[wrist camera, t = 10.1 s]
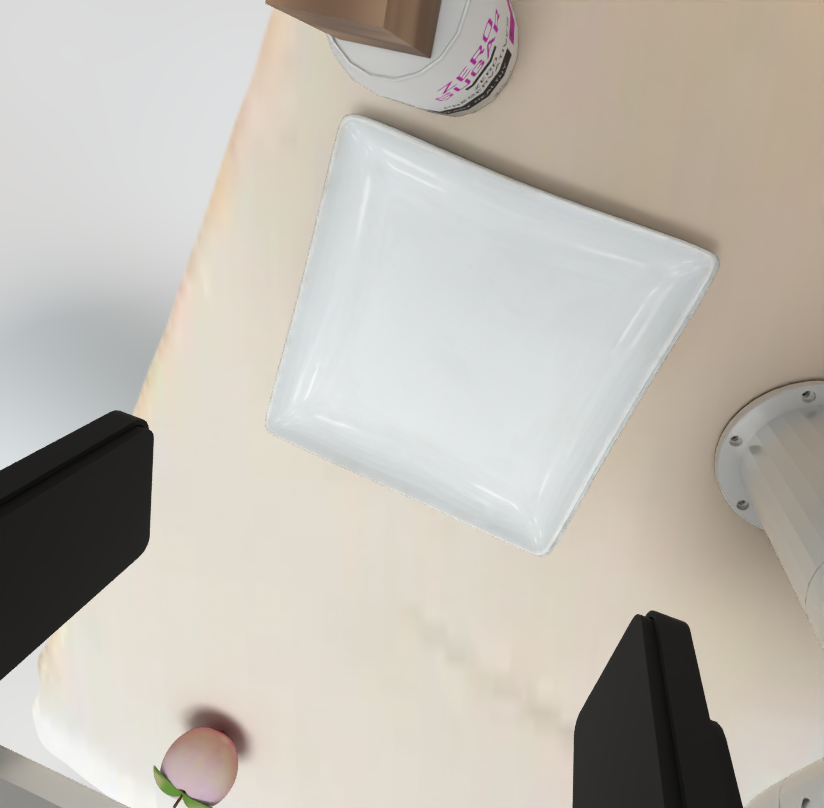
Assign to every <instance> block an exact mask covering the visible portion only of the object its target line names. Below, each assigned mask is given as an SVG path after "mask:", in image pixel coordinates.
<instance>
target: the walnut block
mask: <svg viewBox="0 0 824 808" xmlns="http://www.w3.org/2000/svg"><path fill="white" fill-rule="evenodd" d="M441 1H442V0H266V4H268V5H270V6H272V7H274V8H276V9H278V10H280V11H282V12H284V13H286V14H288V15H290V16H292V17H294V18H296V19H299V20H301V21H303V22H305V23H307V24H309V25H311V26H313V27H315V28H317V29H319V30H321V31H323V32H325V33H327V34H329V35H331V36H333V37H335V38H337V39H340V40H345V41H349V42H354V43H359V44H364V45H368V46H373V47H378V48H383V49H387V50H392V51H397V52H402V53H406V54H411V55H416V56H421V57H425V58H430V59H431V54H432V48H433V43H434V38H435V32H436V27H437V22H438V17H439V11H440V6H441Z"/></svg>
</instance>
